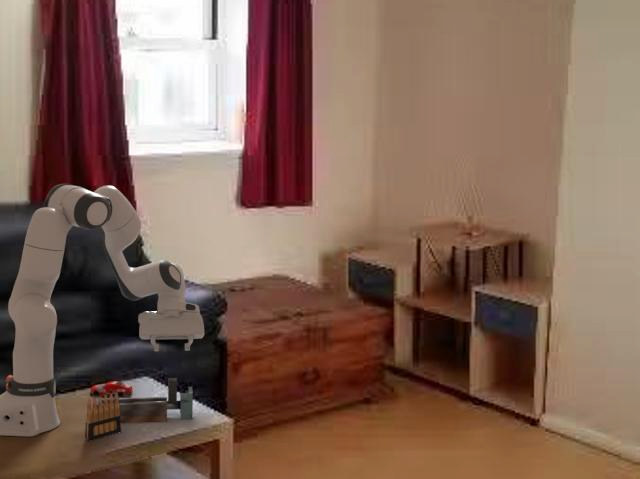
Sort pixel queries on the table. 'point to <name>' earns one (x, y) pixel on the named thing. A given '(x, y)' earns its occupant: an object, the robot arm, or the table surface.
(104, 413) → the ammunition clip
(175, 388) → the tube
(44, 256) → the robot arm
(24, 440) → the table surface
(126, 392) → the race car
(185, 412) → the socket block
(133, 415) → the channel tray
